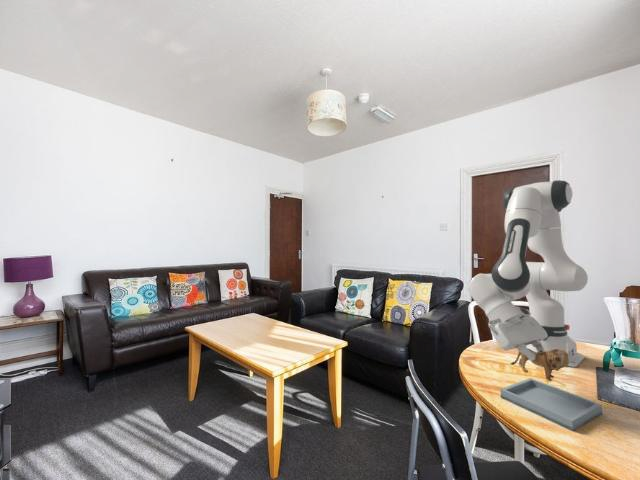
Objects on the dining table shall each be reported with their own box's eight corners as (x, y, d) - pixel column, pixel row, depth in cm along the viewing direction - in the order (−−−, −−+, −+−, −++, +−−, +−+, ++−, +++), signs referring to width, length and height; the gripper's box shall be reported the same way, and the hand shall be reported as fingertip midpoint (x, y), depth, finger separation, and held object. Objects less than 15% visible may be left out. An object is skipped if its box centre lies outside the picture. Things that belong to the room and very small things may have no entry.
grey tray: (530, 385, 96) (530, 378, 96) (602, 413, 80) (601, 404, 80) (500, 397, 89) (500, 389, 89) (572, 431, 73) (572, 421, 73)
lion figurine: (572, 381, 82) (571, 349, 82) (566, 386, 79) (565, 353, 79) (513, 363, 94) (513, 335, 94) (506, 367, 91) (506, 339, 91)
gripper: (492, 315, 89) (527, 359, 80) (530, 309, 98) (566, 347, 89) (479, 326, 92) (511, 369, 84) (517, 319, 102) (549, 357, 93)
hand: (539, 358), depth 86 cm, fingers closed on lion figurine, 4 cm apart
